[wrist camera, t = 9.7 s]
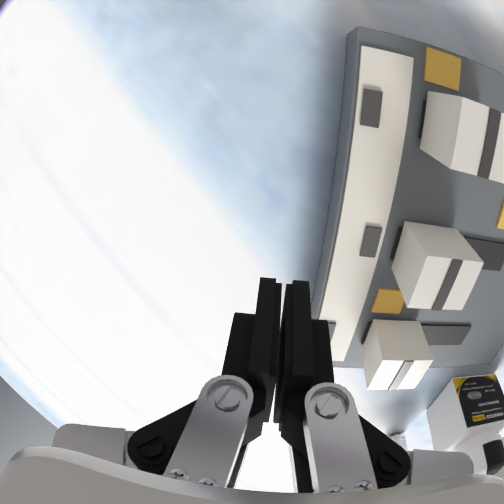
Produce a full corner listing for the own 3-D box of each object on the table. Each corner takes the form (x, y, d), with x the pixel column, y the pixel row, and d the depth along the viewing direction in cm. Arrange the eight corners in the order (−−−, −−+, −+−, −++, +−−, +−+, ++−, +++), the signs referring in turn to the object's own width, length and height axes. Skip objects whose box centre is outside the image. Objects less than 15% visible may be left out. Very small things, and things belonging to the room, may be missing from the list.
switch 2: (483, 109, 11) (523, 122, 8) (473, 162, 13) (510, 186, 10) (428, 91, 11) (463, 97, 8) (419, 148, 13) (451, 169, 10)
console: (561, 116, 12) (589, 128, 9) (479, 341, 23) (490, 366, 20) (347, 35, 13) (359, 25, 10) (304, 336, 25) (304, 368, 22)
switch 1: (419, 321, 18) (433, 361, 15) (404, 350, 20) (415, 389, 17) (373, 319, 19) (383, 361, 16) (361, 349, 20) (367, 390, 17)
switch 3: (456, 229, 15) (484, 263, 12) (440, 272, 16) (462, 311, 13) (404, 221, 15) (427, 257, 12) (391, 268, 17) (407, 309, 14)
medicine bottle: (495, 371, 26) (524, 455, 15) (467, 405, 29) (486, 482, 19) (451, 376, 26) (478, 472, 16) (424, 410, 30) (439, 496, 20)
